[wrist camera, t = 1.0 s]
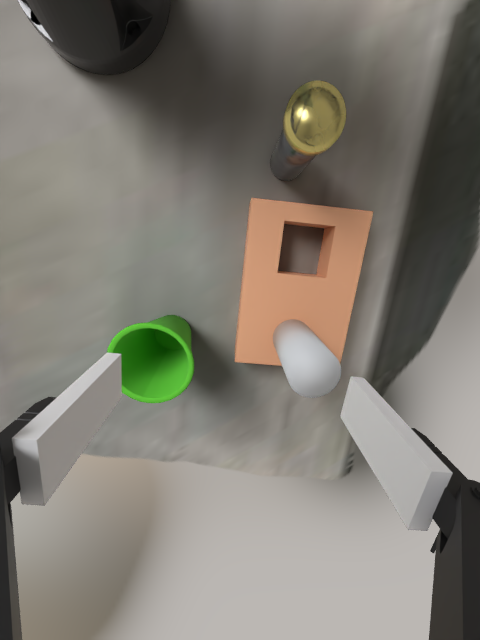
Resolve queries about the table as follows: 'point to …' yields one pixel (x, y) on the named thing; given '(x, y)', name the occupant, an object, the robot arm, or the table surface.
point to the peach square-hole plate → (300, 293)
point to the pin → (308, 128)
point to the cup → (155, 359)
